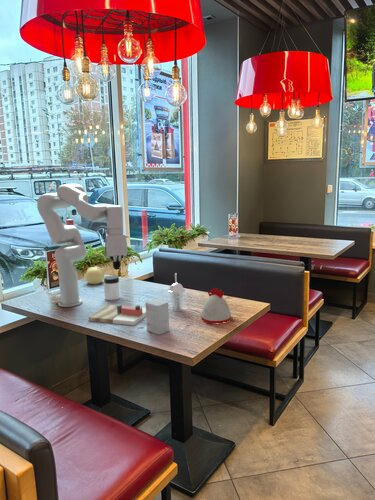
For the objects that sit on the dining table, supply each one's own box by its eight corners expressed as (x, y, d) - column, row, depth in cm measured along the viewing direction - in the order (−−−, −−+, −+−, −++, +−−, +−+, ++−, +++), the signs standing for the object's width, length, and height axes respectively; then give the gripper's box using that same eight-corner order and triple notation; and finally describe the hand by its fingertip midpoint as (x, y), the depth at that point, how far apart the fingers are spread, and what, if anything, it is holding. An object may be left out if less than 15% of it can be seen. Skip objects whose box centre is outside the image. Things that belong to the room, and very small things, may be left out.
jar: (108, 301, 211) (106, 280, 209) (102, 297, 218) (100, 277, 216) (123, 298, 216) (121, 277, 214) (117, 294, 223) (115, 274, 220)
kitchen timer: (222, 326, 172) (221, 294, 169) (195, 321, 179) (194, 289, 176) (235, 316, 183) (235, 286, 180) (210, 311, 190) (210, 282, 188)
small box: (169, 330, 169) (168, 302, 166) (159, 335, 164) (157, 306, 162) (157, 326, 174) (155, 298, 172) (146, 330, 169) (144, 302, 167)
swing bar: (121, 313, 186) (120, 305, 185) (124, 311, 188) (124, 303, 187) (139, 316, 181) (138, 307, 181) (142, 313, 184) (142, 305, 183)
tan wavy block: (88, 320, 183) (87, 310, 182) (108, 308, 200) (107, 298, 199) (113, 323, 179) (112, 312, 178) (130, 310, 196) (130, 300, 195)
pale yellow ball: (107, 280, 255) (106, 264, 253) (100, 285, 243) (99, 268, 241) (90, 280, 256) (89, 264, 254) (83, 285, 245) (82, 268, 243)
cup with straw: (187, 307, 198) (186, 269, 194) (182, 313, 189) (181, 273, 185) (171, 306, 200) (170, 268, 196) (166, 312, 191) (164, 273, 188)
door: (112, 323, 179) (112, 314, 179) (130, 310, 196) (129, 301, 195) (134, 325, 176) (133, 316, 175) (150, 311, 193) (149, 303, 192)
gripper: (102, 234, 177) (104, 272, 181) (133, 231, 184) (134, 268, 188) (97, 231, 183) (99, 269, 187) (127, 229, 191) (128, 265, 194)
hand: (116, 268), depth 188 cm, fingers closed
